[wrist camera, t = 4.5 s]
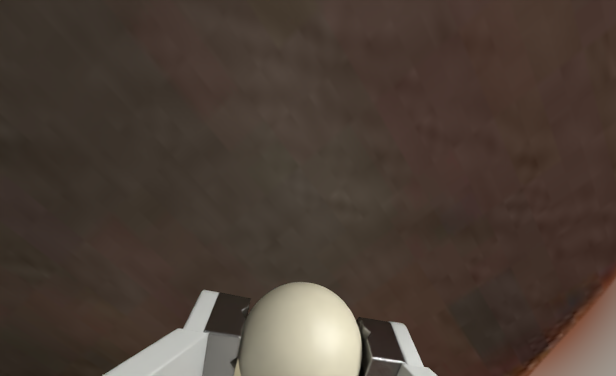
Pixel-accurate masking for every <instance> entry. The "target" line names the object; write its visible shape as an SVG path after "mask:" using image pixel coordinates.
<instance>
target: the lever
mask: <svg viewBox="0 0 616 376" xmlns="http://www.w3.org/2000/svg"><path fill="white" fill-rule="evenodd" d="M238 360H239V368H240V373H241V376H359V372H360V368H361V361H362V342H361V335H360V331H359V328H358V325H357V323H356V320H355V318H354V316H353V314H352V312H351V311H350V309H349V308H348V307H347V305H346V304H345V303H344V301H343V300H341V299H340V298H339V297H338V296H337V295H336V294H335V293H333V292H332V291H330V290H328V289H327V288H325V287H322V286H320V285H317V284H313V283H308V282H294V283H288V284H285V285H282V286H279V287H277V288H275V289H273V290H271V291H270V292H268V293H267V294H266V295H264V296H263V297H262V298H261V299H260V300H259V301H258V302H257V303H256V304H255V306H254V307H253V308H252V309H251V311H250V313H249V314H248V316H247V318H246V320H245V325H244V330H243V335H242V340H241V344H240V348H239V352H238Z"/></svg>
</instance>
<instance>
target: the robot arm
mask: <svg viewBox="0 0 616 376" xmlns="http://www.w3.org/2000/svg"><path fill="white" fill-rule="evenodd" d="M250 300H251V298H245V297H240V296H235V295H230V294H225V293H218V292H213V291H208V290H203V291H202V292H201V293H200V295H199V297H198V299H197V301H196V303H195V305H194V307H193V309H192V311H191V313H190V315H189V318H188V320H187V322H186V324H185V326H184V328H183V329H179V328H177V329H176V330H174V331H173V332H171V333H169V334H168V335H166V336H165V337H163V338H161V339H160V340H158V341H157V342H155V343H153V344H152V345H150V346H149V347H147V348H145V349H144V350H142V351H141V352H139V353H137V354H136V355H134V356H133V357H131V358H129V359H128V360H126V361H125V362H123V363H122V364H120V365H118V366H117V367H115V368H114V369H112V370H110V371H109V372H107V373H106V374H104V375H102V376H234V374H235V370H236V366H237V361H238V352H239V348H240V344H241V340H242V335H243V330H244V325H245V320H246V318H247V315H248V310H249V305H250ZM356 323H357V325H358V328H359V331H360V335H361V342H362V361H361V368H360V372H359V376H437V375H436V374H435V373H434V372H432V371H431V370H430V369H429V368H426V367H424V366H423V364H422V361H421V359H420V357H419V355H418V352H417V350H416V348H415V346H414V343H413V341H412V339H411V337H410V334H409V332H408V330H407V328H406V326H405V325H404V324H403V323H396V322H389V321H388V322H387V321H381V320H374V319H368V318H362V317H358V319H357V320H356Z"/></svg>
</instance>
